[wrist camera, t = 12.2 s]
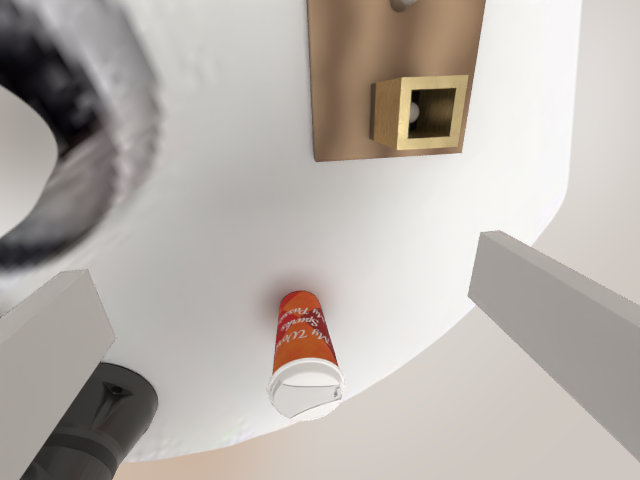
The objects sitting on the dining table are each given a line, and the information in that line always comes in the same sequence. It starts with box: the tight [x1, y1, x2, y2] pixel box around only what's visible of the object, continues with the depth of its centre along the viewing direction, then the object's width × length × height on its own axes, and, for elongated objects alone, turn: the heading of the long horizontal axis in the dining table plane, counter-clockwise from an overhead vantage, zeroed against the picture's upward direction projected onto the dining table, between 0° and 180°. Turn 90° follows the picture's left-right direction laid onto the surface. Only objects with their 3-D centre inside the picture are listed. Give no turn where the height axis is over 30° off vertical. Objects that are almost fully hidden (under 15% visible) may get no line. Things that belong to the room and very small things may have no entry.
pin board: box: [307, 0, 486, 162], centre depth 27 cm, size 16×18×7 cm
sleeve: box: [370, 75, 469, 150], centre depth 26 cm, size 5×5×8 cm
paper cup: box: [267, 291, 345, 421], centre depth 35 cm, size 8×8×14 cm
